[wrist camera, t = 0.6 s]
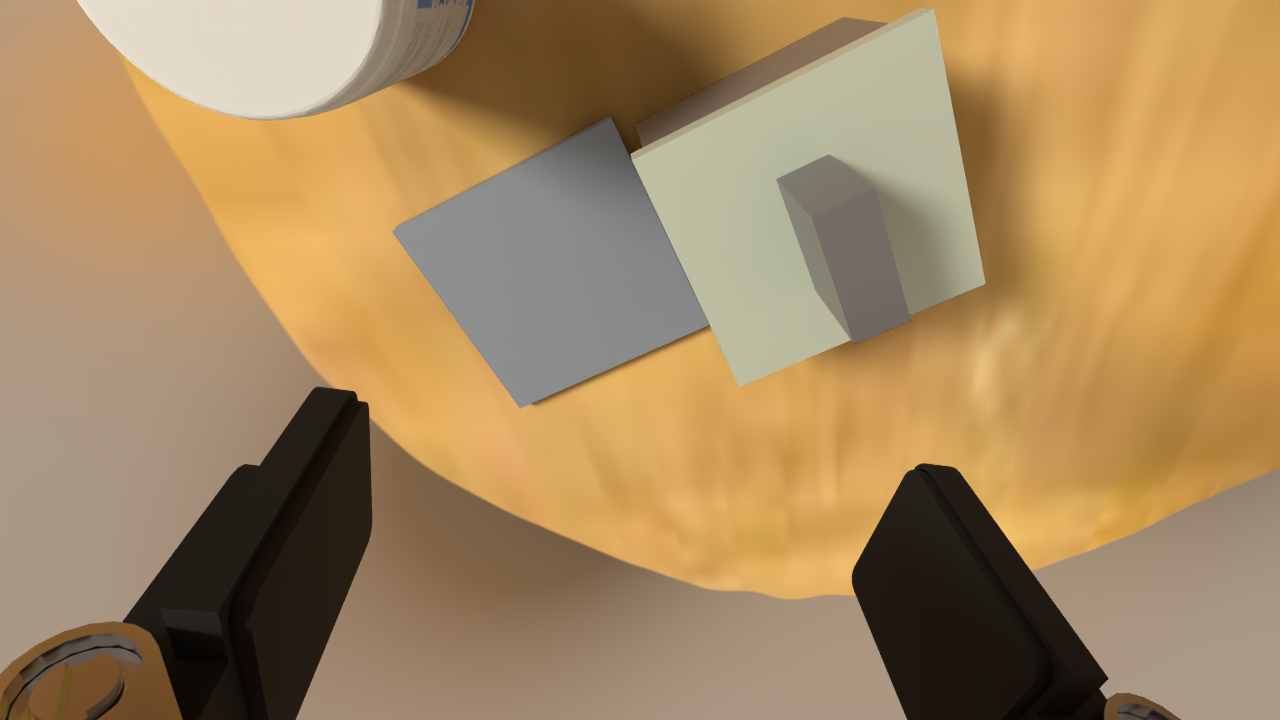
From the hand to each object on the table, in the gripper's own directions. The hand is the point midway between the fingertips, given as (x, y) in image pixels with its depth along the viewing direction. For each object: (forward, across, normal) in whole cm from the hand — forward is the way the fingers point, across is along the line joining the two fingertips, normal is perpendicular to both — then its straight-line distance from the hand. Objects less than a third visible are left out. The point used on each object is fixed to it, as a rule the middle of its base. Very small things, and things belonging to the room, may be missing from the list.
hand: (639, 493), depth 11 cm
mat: (+28, +2, +9) cm, 29 cm away
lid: (+20, -10, 0) cm, 22 cm away
